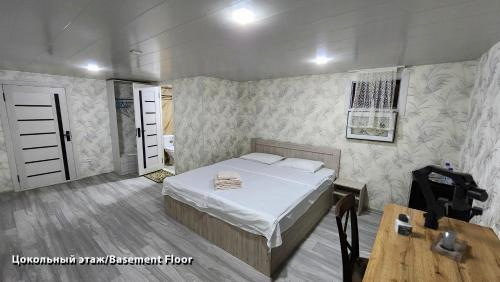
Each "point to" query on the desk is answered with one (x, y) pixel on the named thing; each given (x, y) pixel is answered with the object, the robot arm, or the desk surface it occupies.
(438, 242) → the bore block
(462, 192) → the robot arm
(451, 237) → the steel peg
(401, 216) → the medicine bottle
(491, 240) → the desk surface
